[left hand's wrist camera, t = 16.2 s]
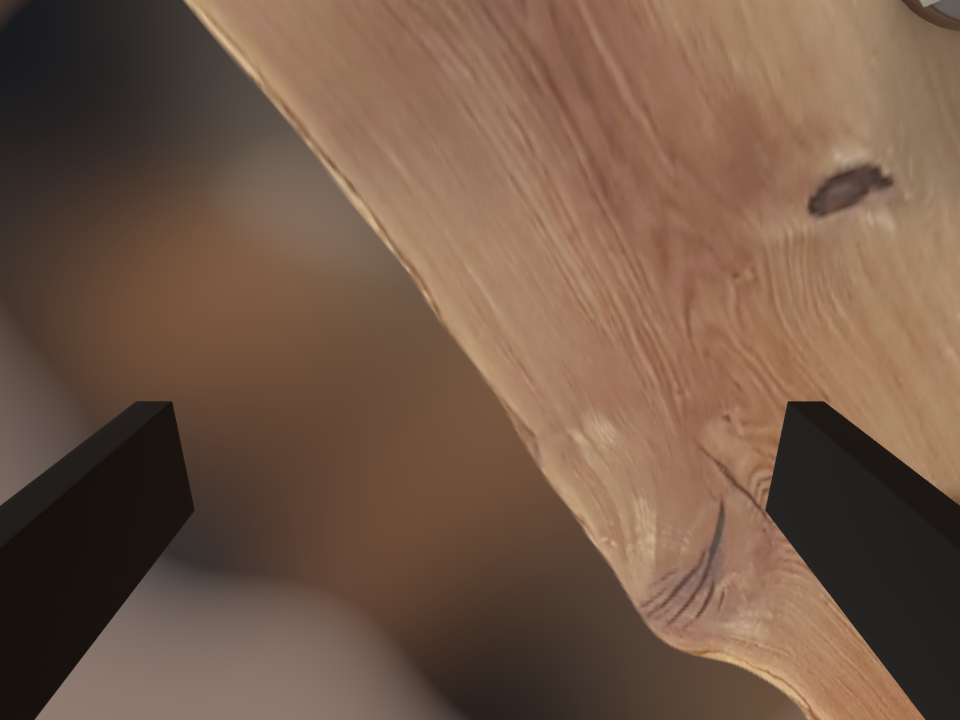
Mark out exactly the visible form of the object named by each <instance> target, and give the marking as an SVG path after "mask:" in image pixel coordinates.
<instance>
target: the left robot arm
mask: <svg viewBox="0 0 960 720" xmlns="http://www.w3.org/2000/svg"><path fill="white" fill-rule="evenodd" d="M902 1H903V2H904V3H905V4H906V5H907V6H908V7H909V8H910V9H911V10H912V11H913V12H915V13H916V14H917V15H919V16H920V17H922V18H923V19H925V20H927V21H928V22H930V23H933V24H935V25H937V26H940V27H944V28H947V29H952V30H959V31H960V0H902ZM765 511H766V512H767V513H768V515H769V516H770V517H771V518H772V520H773V521H774V522H775V524H776V525H777V526H778V528H779V529H780V530H781V532H782V533H783V534H784V535H785V537H786V538H787V539H788V541H789V542H790V543H791V545H792V546H793V547H794V549H795V550H796V551H797V552H798V554H799V555H800V556H801V558H802V559H803V560H804V562H805V563H806V564H807V565H808V567H809V568H810V569H811V571H812V572H813V573H814V575H815V576H816V577H817V579H818V580H819V581H820V582H821V584H822V585H823V586H824V588H825V589H826V590H827V592H828V593H829V594H830V596H831V597H832V598H833V599H834V601H835V602H836V603H837V605H838V606H839V607H840V609H841V610H842V611H843V613H844V614H845V615H846V616H847V618H848V619H849V620H850V622H851V623H852V624H853V626H854V627H855V628H856V630H857V631H858V632H859V633H860V635H861V636H862V637H863V639H864V640H865V641H866V643H867V644H868V645H869V647H870V648H871V649H872V650H873V652H874V653H875V654H876V656H877V657H878V658H879V660H880V661H881V662H882V664H883V665H884V666H885V667H886V669H887V670H888V671H889V673H890V674H891V675H892V677H893V678H894V679H895V680H896V682H897V683H898V684H899V686H900V687H901V688H902V690H903V691H904V692H905V694H906V695H907V696H908V697H909V699H910V700H911V701H912V703H913V704H914V705H915V707H916V708H917V709H918V711H919V712H920V713H921V714H922V716H923V717H924V718H925V720H960V506H959V505H958V504H957V503H955V502H954V501H953V500H951V499H950V498H949V497H948V496H946V495H945V494H944V493H942V492H941V491H940V490H938V489H937V488H936V487H935V486H933V485H932V484H931V483H929V482H928V481H927V480H925V479H924V478H923V477H922V476H920V475H919V474H918V473H916V472H915V471H914V470H912V469H911V468H910V467H909V466H907V465H906V464H905V463H903V462H902V461H901V460H899V459H898V458H897V457H895V456H894V455H893V454H892V453H890V452H889V451H888V450H886V449H885V448H884V447H882V446H881V445H880V444H879V443H877V442H876V441H875V440H873V439H872V438H871V437H869V436H868V435H867V434H866V433H864V432H863V431H862V430H860V429H859V428H858V427H856V426H855V425H854V424H853V423H851V422H850V421H849V420H847V419H846V418H845V417H843V416H842V415H841V414H839V413H838V412H837V411H836V410H834V409H833V408H832V407H830V406H829V405H828V404H826V403H825V402H824V401H788V403H787V408H786V413H785V418H784V423H783V428H782V432H781V437H780V442H779V447H778V452H777V457H776V462H775V466H774V471H773V476H772V481H771V486H770V491H769V496H768V500H767V505H766V510H765ZM193 512H194V505H193V501H192V496H191V491H190V486H189V481H188V476H187V471H186V466H185V462H184V457H183V452H182V447H181V442H180V437H179V432H178V428H177V423H176V418H175V413H174V408H173V403H172V401H137V402H135V403H134V404H132V405H131V406H130V407H128V408H127V409H126V410H124V411H123V412H122V413H121V414H119V415H118V416H117V417H115V418H114V419H113V420H112V421H110V422H109V423H108V424H106V425H105V426H104V427H102V428H101V429H100V430H98V431H97V432H96V433H94V434H93V435H92V436H91V437H89V438H88V439H87V440H85V441H84V442H83V443H81V444H80V445H79V446H78V447H76V448H75V449H74V450H72V451H71V452H70V453H68V454H67V455H66V456H65V457H63V458H62V459H61V460H59V461H58V462H57V463H55V464H54V465H53V466H51V467H50V468H49V469H48V470H46V471H45V472H44V473H42V474H41V475H40V476H38V477H37V478H36V479H35V480H33V481H32V482H31V483H29V484H28V485H27V486H25V487H24V488H23V489H22V490H20V491H19V492H18V493H16V494H15V495H14V496H12V497H11V498H10V499H9V500H7V501H6V502H5V503H3V504H2V505H1V506H0V720H35V718H36V717H37V716H38V714H39V713H40V712H41V710H42V709H43V708H44V707H45V705H46V704H47V703H48V701H49V700H50V699H51V697H52V696H53V695H54V694H55V692H56V691H57V690H58V688H59V687H60V686H61V684H62V683H63V682H64V680H65V679H66V678H67V677H68V675H69V674H70V673H71V671H72V670H73V669H74V667H75V666H76V665H77V664H78V662H79V661H80V660H81V658H82V657H83V656H84V654H85V653H86V652H87V650H88V649H89V648H90V647H91V645H92V644H93V643H94V641H95V640H96V639H97V637H98V636H99V635H100V633H101V632H102V631H103V629H104V628H105V627H106V625H107V624H108V623H109V622H110V620H111V619H112V618H113V616H114V615H115V614H116V613H117V611H118V610H119V609H120V607H121V606H122V605H123V603H124V602H125V601H126V599H127V598H128V597H129V596H130V594H131V593H132V592H133V590H134V589H135V588H136V586H137V585H138V584H139V582H140V581H141V580H142V578H143V577H144V576H145V575H146V573H147V572H148V571H149V569H150V568H151V567H152V565H153V564H154V563H155V562H156V560H157V559H158V558H159V556H160V555H161V554H162V552H163V551H164V550H165V548H166V547H167V546H168V545H169V543H170V542H171V541H172V539H173V538H174V537H175V535H176V534H177V533H178V531H179V530H180V529H181V528H182V526H183V525H184V524H185V522H186V521H187V520H188V518H189V517H190V516H191V514H192V513H193Z"/></svg>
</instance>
